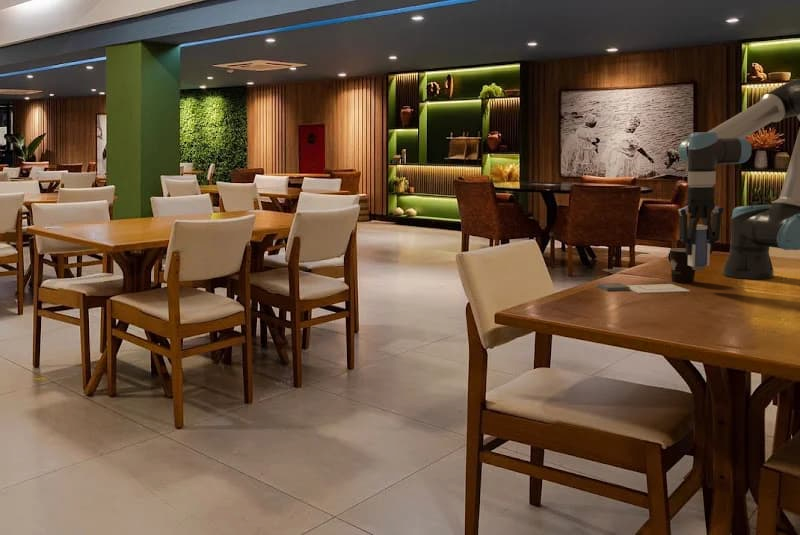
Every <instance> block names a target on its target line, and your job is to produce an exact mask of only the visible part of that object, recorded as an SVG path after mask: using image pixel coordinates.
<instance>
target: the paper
mask: <svg viewBox="0 0 800 535" xmlns="http://www.w3.org/2000/svg"><path fill="white" fill-rule="evenodd" d="M627 286H628V287H630V290H629V291H632V292H634V293H637V294H659V293H665V294H666V293H688V292H689V293H690V292H691V290H690V289H687V288H684V287H681V286H678V285H675V284H672V283H664V284H661V283H660V284H635V285H633V284H631V285H627Z"/></svg>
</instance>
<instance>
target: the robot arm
mask: <svg viewBox="0 0 800 535" xmlns="http://www.w3.org/2000/svg"><path fill="white" fill-rule="evenodd" d="M791 117H792V118H793V117H797V119H798V120H799V121H800V78H796V79H793V80H790V81H788V82H786V83H784V84H782V85H780V86H778V87H776V88H774V89H772V90H771V91H769V92H767V93H765V94H763V96H761V97H760V99H759V101H758V102H757V103H754V104H753V105H751V106H749V107H747V108H746V109H744V110H742V111H741V112H739V113H737V114H735V115H734V116H733V117H731V118H729V119H727V120H725V121H723V122H722V123H720V124H719V125H717V126H716V127H714V128H711V129H710V130H708V131H707V132H702V131H701V132H692V133H690V135H689V137H688V138H686V139H684V140H683V141H681V142H680V144H679V146H678V156H679V159H680V160H681V161H683V162H684V163H687V164H688V165H687V185H688V187H687V190H686V192H687V194H686V199H687V203H686V205H685V206H684V207H682V208H677V210H676V211H677V215H678V221H679V222H678V225H679V228H678V230H679V233H678V234H679V239H678V240H679V242H682V243H684V244H685V248H686V255H688V265H689V266H692V267H695V246H696V245H695V244H693V241H694V236H695V232H696V227H697V225H698V223H699V221H700V220H701V221H702V222H701V223H702V225H706V226H708V228H707V245H706V265H705V266H706V267H708V266H710V257H711V254H712V253H713V244H715V243H716V242H718V241H720V236H721V222H722V214H723V212H724V207H722V206H718V205H716V203H715V198H716V187H715V185H716V177H717V176H716V175H717V174H716V171H717V165H738V164H744V163H745V162H748V160H750V158H751V156H752V145H751V143H750V141H749V140H748V139H747V137H748V136H750V135H752V134H754V133H755V132H758V131H759V130H760V129H762V128H764V127H766V126H767V125H769V124H771V123H778V122H781V121H782V120H784V119H787V118H791ZM797 132H798V133H797V136H796V139H795V143H794V145H793V150H792V154H791V157H790V161H789V164H788V167H787V170H786V175H785V177H784V181H783V184H782V189H781V191H780V195H779V197H778V198H777V199H776V200H773V201H772V203H771V204H759V205H742V206H741V205H740V206H736V207H735V208H734V209H733V210H732V216H731V222H730V226H731V227H730V243H729V244H730V246H729V253H728V255H727V257H726V260H725V262H724V265H723V267H722V275H723V276H725V277H730V278H738V279H746V280H747V279H748V280H766V279H771V278H774V268H773V264H772V260H771V257H770V248H776V249H780V250H781V249H782V250H784V251H790V250H791V251H799V250H800V128H799V129H798V131H797ZM712 212H713V213H712ZM688 214H689V217H688ZM711 214H712V216H711ZM711 220H712V221H711Z"/></svg>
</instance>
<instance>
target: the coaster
mask: <svg viewBox="0 0 800 535" xmlns="http://www.w3.org/2000/svg"><path fill="white" fill-rule="evenodd" d="M597 288H600V289H602V290H604V291H606V292H615V291H616V292H619V291H620V292H621V291H631V290H630V287H628V285H625V284H623V283H620V282H608V283H607V282H605V283H597Z"/></svg>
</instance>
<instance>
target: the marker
mask: <svg viewBox="0 0 800 535" xmlns="http://www.w3.org/2000/svg"><path fill="white" fill-rule="evenodd" d="M707 228H708V226H706V225H703V224H697V227H696V232H695V236H694V241H693V244H695V245H696V246H695V267H692V269H693V270H695V271H704V270H705V266H706V245H707Z"/></svg>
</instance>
